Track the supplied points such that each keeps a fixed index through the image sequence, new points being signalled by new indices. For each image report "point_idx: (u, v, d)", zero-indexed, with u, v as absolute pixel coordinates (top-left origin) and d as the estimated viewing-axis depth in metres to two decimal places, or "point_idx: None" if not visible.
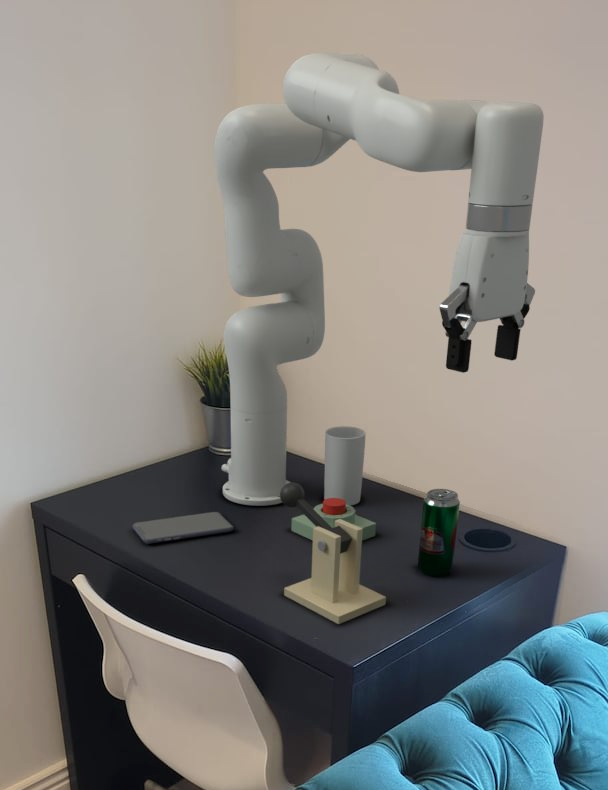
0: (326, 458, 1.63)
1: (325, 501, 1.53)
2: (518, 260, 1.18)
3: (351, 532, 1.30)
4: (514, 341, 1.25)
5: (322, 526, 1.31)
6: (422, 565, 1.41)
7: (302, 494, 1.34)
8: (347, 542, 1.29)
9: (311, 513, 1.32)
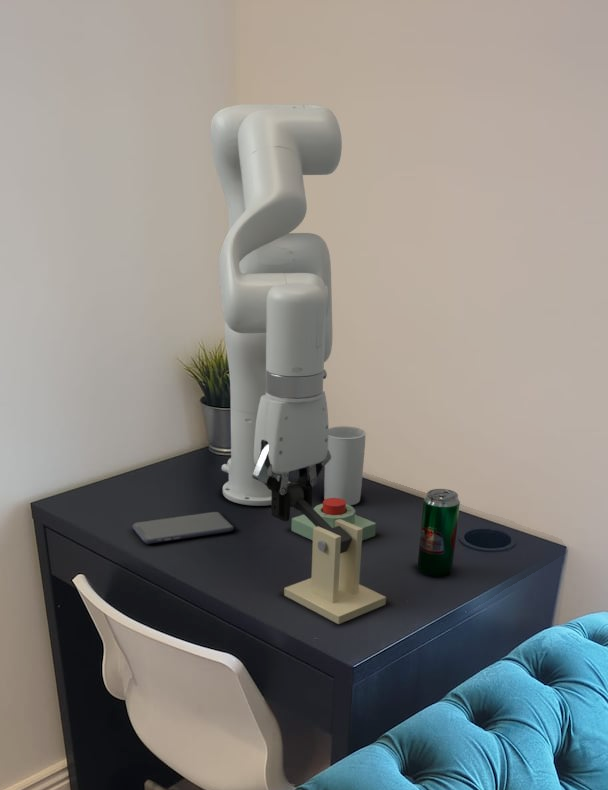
0: None
1: (325, 501, 1.53)
2: (315, 419, 1.29)
3: (351, 532, 1.30)
4: (307, 497, 1.35)
5: (322, 526, 1.31)
6: (422, 565, 1.41)
7: (302, 494, 1.34)
8: (347, 542, 1.29)
9: (311, 513, 1.32)
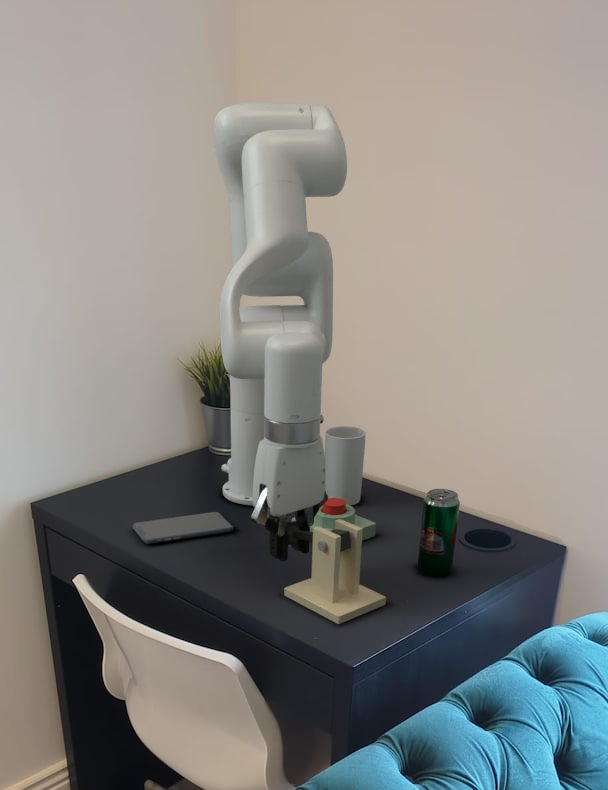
0: (326, 458, 1.63)
1: None
2: (312, 463, 1.32)
3: (351, 532, 1.30)
4: None
5: None
6: (422, 565, 1.41)
7: (296, 526, 1.37)
8: (345, 535, 1.29)
9: (307, 533, 1.34)
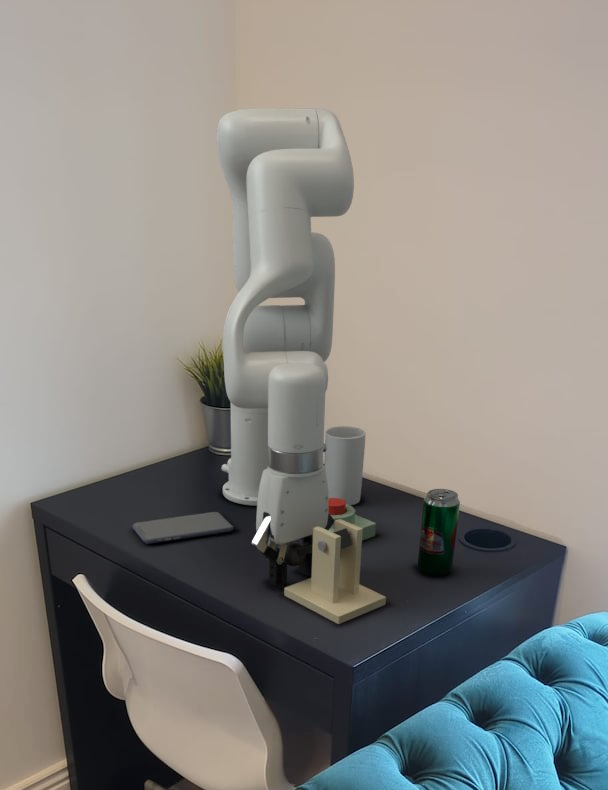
0: (326, 458, 1.63)
1: None
2: (315, 491, 1.33)
3: (351, 532, 1.30)
4: None
5: None
6: (422, 565, 1.41)
7: (299, 545, 1.38)
8: (343, 532, 1.29)
9: None
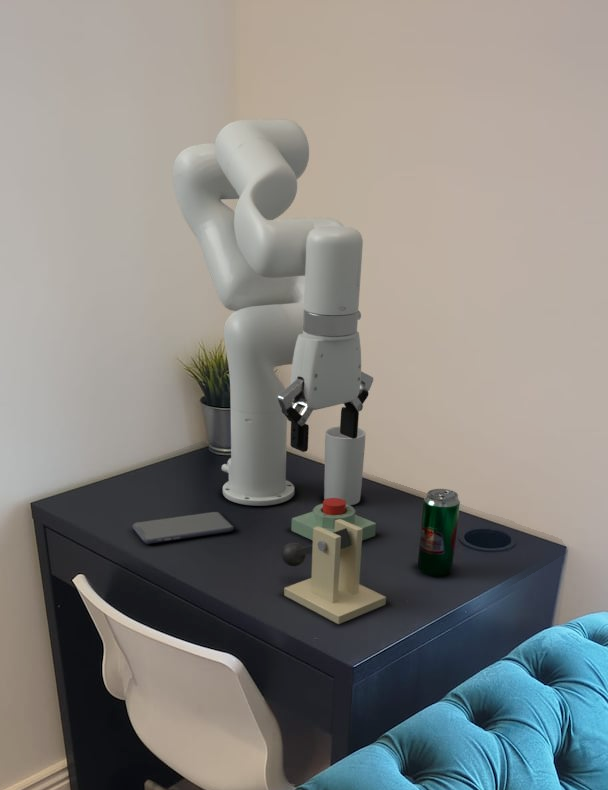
0: (326, 458, 1.63)
1: (325, 501, 1.53)
2: (349, 357, 1.36)
3: (351, 532, 1.30)
4: (354, 422, 1.43)
5: None
6: (422, 565, 1.41)
7: (299, 545, 1.38)
8: (343, 532, 1.29)
9: None
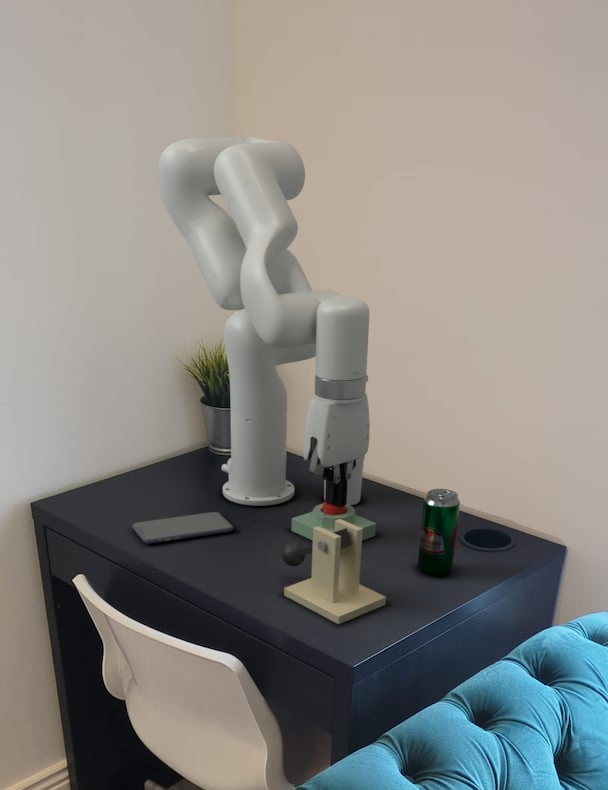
0: None
1: (325, 503, 1.53)
2: (358, 418, 1.45)
3: (351, 532, 1.30)
4: (343, 491, 1.50)
5: None
6: (422, 565, 1.41)
7: (299, 545, 1.38)
8: (343, 532, 1.29)
9: None
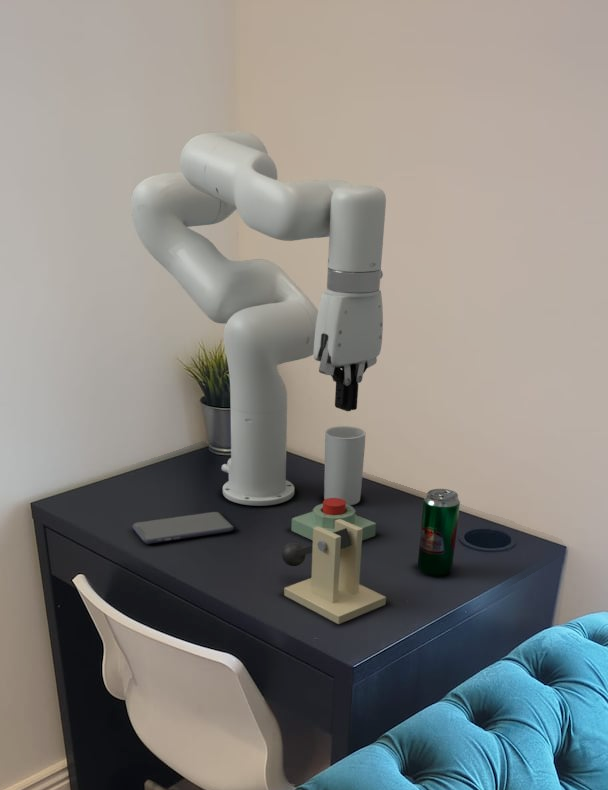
0: (326, 458, 1.63)
1: (325, 501, 1.53)
2: (371, 315, 1.39)
3: (351, 532, 1.30)
4: (353, 394, 1.45)
5: None
6: (422, 565, 1.41)
7: (299, 545, 1.38)
8: (343, 532, 1.29)
9: None
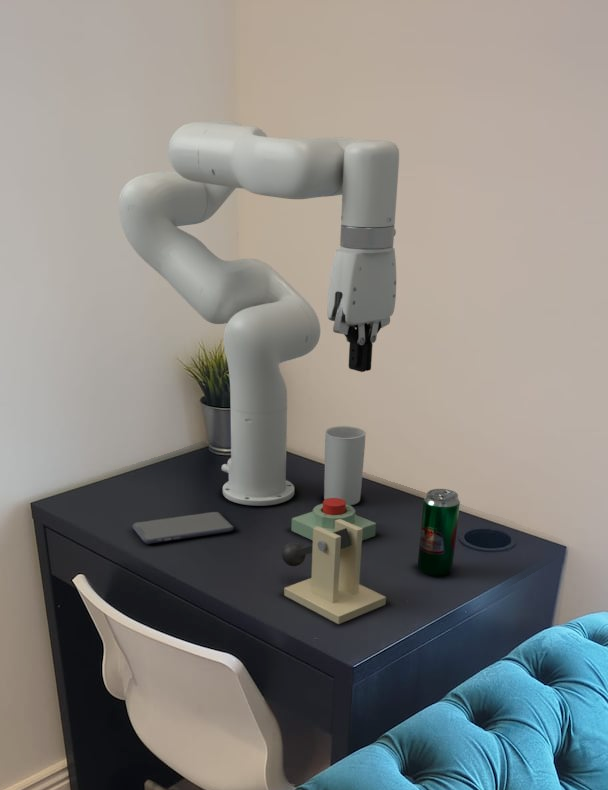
0: (326, 458, 1.63)
1: (325, 501, 1.53)
2: (385, 272, 1.39)
3: (351, 532, 1.30)
4: (367, 354, 1.44)
5: None
6: (422, 565, 1.41)
7: (299, 545, 1.38)
8: (343, 532, 1.29)
9: None
